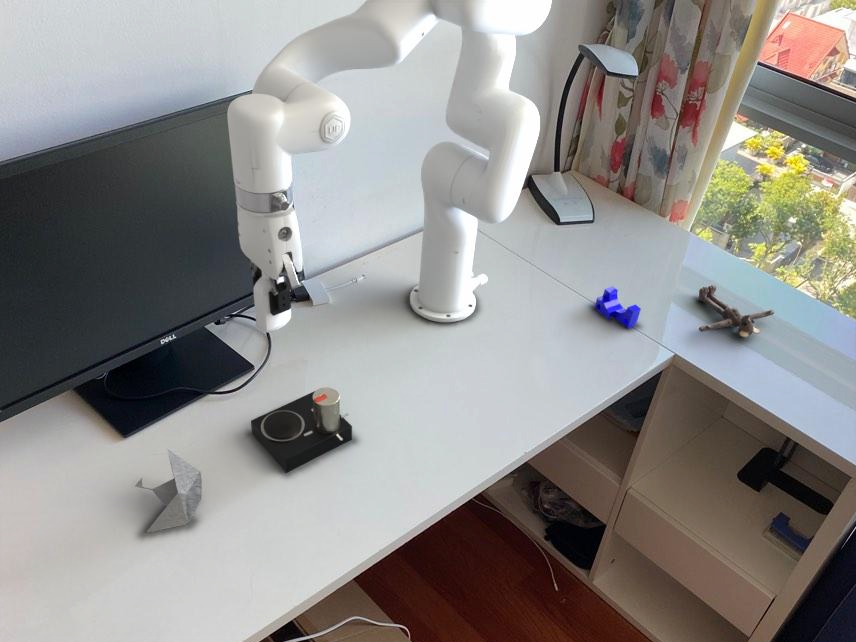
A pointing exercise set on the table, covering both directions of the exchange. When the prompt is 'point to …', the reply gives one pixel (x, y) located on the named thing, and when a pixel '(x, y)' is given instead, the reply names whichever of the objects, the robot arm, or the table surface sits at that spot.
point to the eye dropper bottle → (267, 307)
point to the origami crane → (177, 495)
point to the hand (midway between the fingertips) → (272, 303)
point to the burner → (282, 426)
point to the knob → (326, 410)
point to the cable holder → (616, 308)
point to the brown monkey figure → (730, 314)
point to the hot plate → (302, 436)
